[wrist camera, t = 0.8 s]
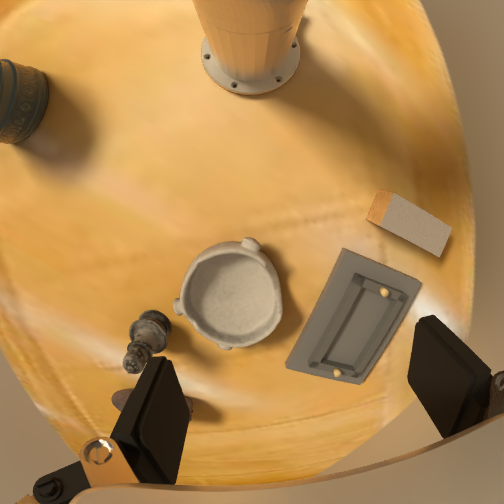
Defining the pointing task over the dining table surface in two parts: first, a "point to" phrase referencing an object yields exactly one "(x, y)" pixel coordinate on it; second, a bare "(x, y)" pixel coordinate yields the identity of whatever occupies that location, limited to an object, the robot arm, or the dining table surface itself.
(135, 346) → the dark grey chess piece
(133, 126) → the dining table surface
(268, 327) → the dish
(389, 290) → the switch frame
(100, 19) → the dining table surface
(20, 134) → the canister
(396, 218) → the aluminium bar
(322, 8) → the dining table surface
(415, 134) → the dining table surface
